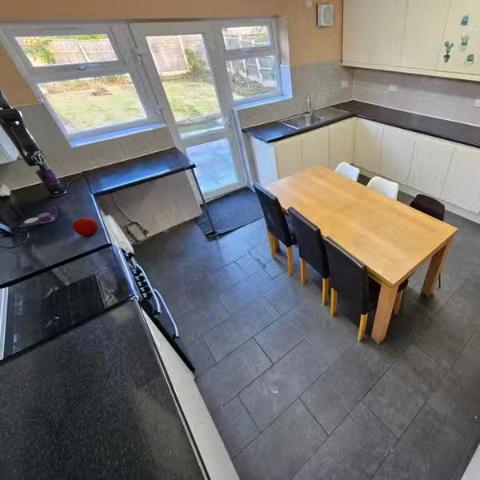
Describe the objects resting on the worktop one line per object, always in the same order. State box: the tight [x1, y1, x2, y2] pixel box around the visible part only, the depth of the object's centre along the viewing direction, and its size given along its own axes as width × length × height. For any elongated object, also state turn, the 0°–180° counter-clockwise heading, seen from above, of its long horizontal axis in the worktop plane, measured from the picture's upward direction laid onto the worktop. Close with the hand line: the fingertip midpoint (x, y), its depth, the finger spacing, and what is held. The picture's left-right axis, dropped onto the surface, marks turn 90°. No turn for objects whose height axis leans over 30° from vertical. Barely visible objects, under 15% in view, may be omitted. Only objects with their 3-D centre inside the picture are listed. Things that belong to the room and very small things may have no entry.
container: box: [39, 161, 60, 184], centre depth 184 cm, size 5×5×15 cm
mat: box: [17, 213, 60, 229], centre depth 181 cm, size 11×19×1 cm, turn 112°
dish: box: [37, 212, 53, 224], centre depth 180 cm, size 6×6×4 cm
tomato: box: [72, 216, 99, 237], centre depth 165 cm, size 12×12×11 cm
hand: (45, 168), depth 182 cm, fingers closed on container, 4 cm apart
